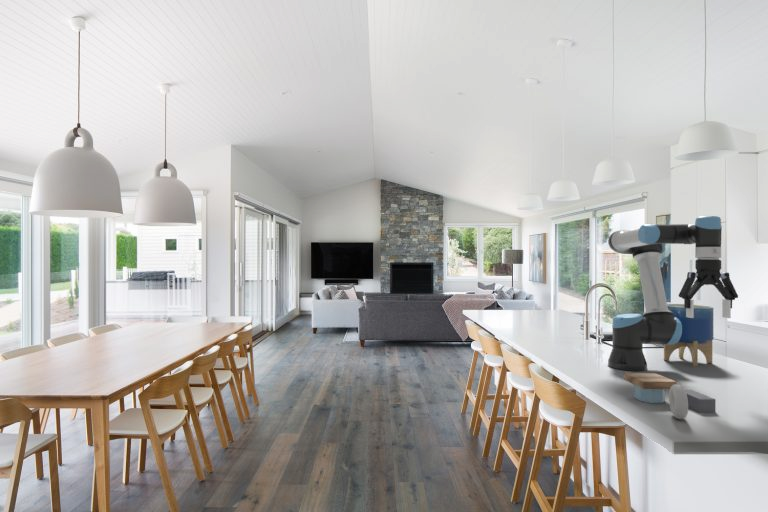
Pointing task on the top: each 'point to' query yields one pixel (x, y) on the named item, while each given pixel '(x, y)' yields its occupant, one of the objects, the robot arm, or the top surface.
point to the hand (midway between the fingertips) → (708, 317)
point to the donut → (678, 401)
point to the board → (649, 380)
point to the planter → (693, 332)
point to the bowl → (649, 394)
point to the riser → (700, 402)
